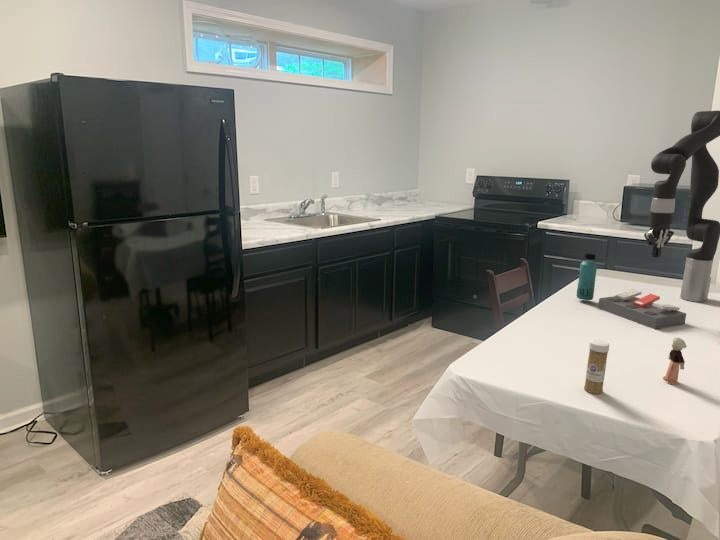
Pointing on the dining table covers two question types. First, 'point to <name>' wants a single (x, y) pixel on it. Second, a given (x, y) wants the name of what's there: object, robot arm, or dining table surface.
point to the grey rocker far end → (666, 306)
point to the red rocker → (646, 300)
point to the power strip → (642, 313)
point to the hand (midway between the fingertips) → (655, 257)
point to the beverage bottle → (587, 278)
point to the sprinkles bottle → (596, 366)
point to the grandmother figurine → (675, 361)
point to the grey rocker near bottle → (628, 294)
